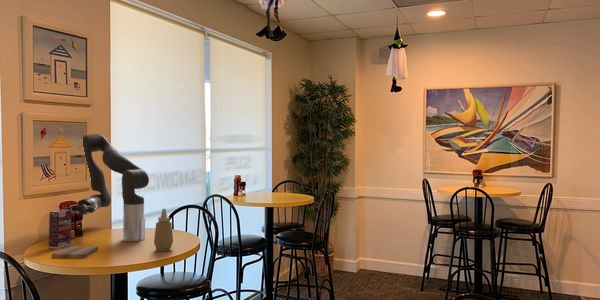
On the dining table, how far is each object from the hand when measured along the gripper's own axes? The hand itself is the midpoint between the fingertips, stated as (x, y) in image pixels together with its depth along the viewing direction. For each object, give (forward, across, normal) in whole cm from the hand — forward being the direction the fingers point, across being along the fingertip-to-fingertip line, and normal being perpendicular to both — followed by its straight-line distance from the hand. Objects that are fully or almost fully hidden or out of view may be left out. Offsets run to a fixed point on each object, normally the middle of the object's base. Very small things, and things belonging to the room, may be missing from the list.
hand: (72, 211), depth 212 cm
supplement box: (+12, 0, +14) cm, 18 cm away
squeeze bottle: (+16, +46, +13) cm, 51 cm away
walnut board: (+24, +12, +13) cm, 30 cm away
